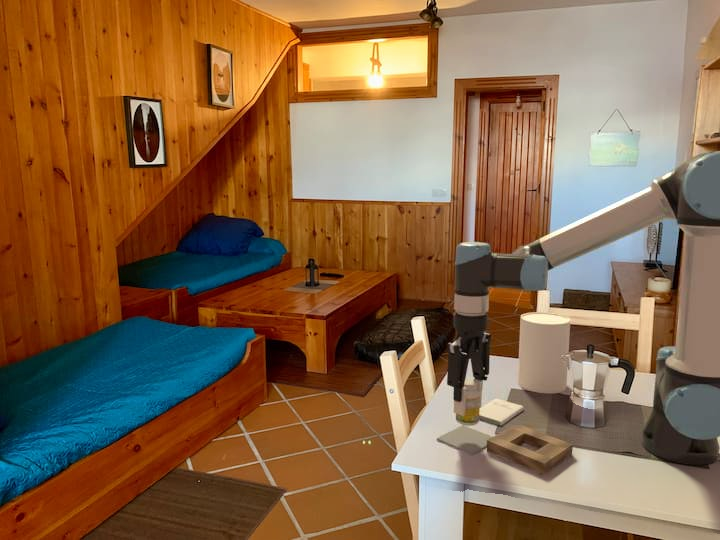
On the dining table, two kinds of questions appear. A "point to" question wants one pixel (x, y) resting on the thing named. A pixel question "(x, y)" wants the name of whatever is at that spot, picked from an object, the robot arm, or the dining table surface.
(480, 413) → the external hard drive
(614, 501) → the dining table surface
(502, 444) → the block
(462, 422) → the supplement bottle
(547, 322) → the canister
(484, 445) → the felt pad
